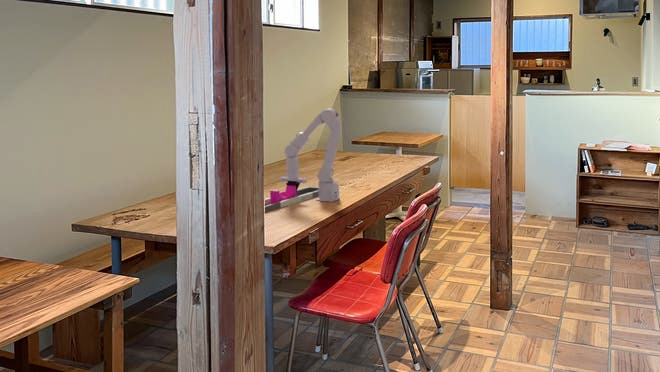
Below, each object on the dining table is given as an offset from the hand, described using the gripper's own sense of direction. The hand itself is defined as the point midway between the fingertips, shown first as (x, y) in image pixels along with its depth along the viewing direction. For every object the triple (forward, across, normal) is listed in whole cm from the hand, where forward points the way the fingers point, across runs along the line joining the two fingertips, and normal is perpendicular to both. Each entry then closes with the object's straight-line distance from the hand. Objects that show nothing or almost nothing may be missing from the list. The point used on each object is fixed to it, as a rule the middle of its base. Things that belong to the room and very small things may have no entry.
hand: (293, 196), depth 341 cm
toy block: (+2, 0, +10) cm, 10 cm away
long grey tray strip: (+2, 0, +4) cm, 5 cm away
